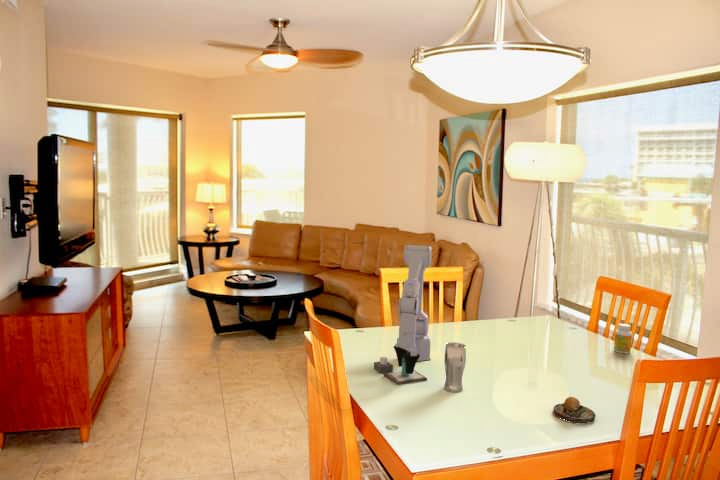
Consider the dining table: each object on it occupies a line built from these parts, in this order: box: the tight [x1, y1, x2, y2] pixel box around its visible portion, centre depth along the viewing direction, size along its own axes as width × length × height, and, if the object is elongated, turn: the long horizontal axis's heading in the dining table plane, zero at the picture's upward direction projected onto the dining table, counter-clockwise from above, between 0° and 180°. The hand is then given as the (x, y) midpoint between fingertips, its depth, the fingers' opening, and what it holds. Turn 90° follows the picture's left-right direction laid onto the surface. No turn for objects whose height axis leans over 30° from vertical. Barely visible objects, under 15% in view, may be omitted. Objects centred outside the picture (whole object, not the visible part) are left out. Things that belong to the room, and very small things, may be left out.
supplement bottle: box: [613, 323, 633, 354], centre depth 242 cm, size 6×6×11 cm
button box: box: [373, 360, 394, 375], centre depth 209 cm, size 5×5×3 cm
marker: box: [401, 358, 409, 377], centre depth 202 cm, size 3×3×6 cm
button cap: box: [379, 356, 389, 366], centre depth 209 cm, size 3×3×3 cm
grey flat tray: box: [383, 369, 428, 386], centre depth 202 cm, size 12×9×1 cm
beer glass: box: [443, 342, 467, 393], centre depth 193 cm, size 7×7×15 cm
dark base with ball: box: [552, 396, 596, 424], centre depth 175 cm, size 12×12×8 cm
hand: (405, 369), depth 202 cm, fingers open, 7 cm apart
